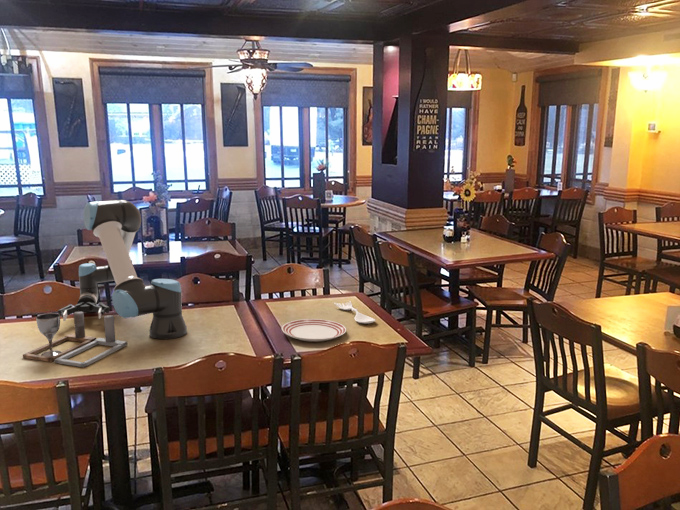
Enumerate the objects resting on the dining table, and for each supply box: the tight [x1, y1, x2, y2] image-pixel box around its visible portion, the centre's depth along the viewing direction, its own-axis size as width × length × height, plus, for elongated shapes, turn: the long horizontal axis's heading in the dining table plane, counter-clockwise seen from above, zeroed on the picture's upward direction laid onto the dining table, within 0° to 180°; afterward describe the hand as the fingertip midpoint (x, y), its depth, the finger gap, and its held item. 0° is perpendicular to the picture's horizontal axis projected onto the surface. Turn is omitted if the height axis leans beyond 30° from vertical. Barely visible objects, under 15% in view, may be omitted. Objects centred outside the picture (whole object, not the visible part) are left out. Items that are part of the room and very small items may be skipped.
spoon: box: [333, 300, 377, 325], centre depth 274 cm, size 9×32×4 cm, turn 23°
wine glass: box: [35, 312, 62, 357], centre depth 220 cm, size 8×8×15 cm
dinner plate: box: [281, 318, 347, 343], centre depth 247 cm, size 28×27×3 cm
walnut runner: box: [22, 312, 97, 363], centre depth 225 cm, size 13×24×12 cm, turn 163°
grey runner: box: [53, 314, 128, 368], centre depth 221 cm, size 13×24×12 cm, turn 163°
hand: (81, 316), depth 243 cm, fingers open, 13 cm apart
